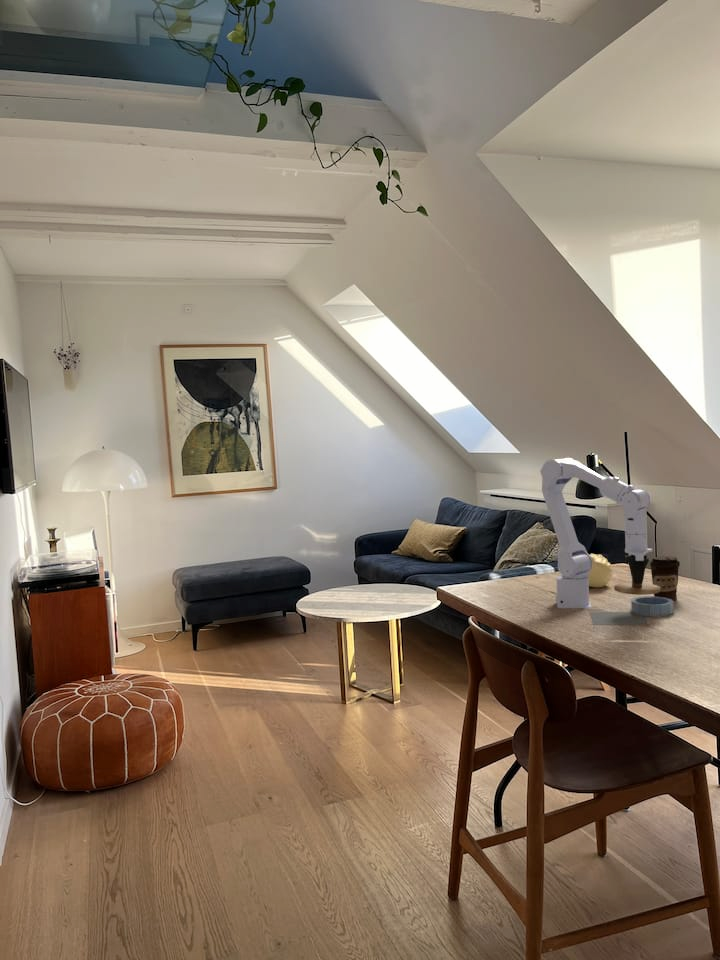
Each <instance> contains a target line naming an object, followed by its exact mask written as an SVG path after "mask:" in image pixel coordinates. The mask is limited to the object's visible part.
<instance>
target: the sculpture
mask: <svg viewBox="0 0 720 960" xmlns="http://www.w3.org/2000/svg"><path fill="white" fill-rule="evenodd" d="M589 555H590V557H591V558H592V561H593V566H592V569H591V570H590V571H589V575H588V583H589V588H590V587H591V588H603V587H605V586H606V585H608V584H609V582H610V580H611V578H612V576H613V575H612V573H613V569H612V564H611V563H610V562H609V561H608V559H607V558H605V557H604V556H603V555H602V554H595V553H590V554H589Z"/></svg>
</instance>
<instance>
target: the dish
mask: <svg viewBox="0 0 720 960" xmlns="http://www.w3.org/2000/svg"><path fill="white" fill-rule="evenodd" d="M630 612H632V613H635V614H638V615H643V616H644V617H667V616H671V615H673V614H674V613H675V601H673V600H672V599H668V598H664V597H654V595H653V596H651V595H650V596H645V595H643V596H637V597H633V598H631V599H630Z"/></svg>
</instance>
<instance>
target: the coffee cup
mask: <svg viewBox="0 0 720 960" xmlns="http://www.w3.org/2000/svg"><path fill="white" fill-rule="evenodd" d="M651 559H652V560H651V561H649V562H650V563H649V566H650V569H651V573H650V574H651V580H652V584H653V585H657V586H659V587H660V592H659V593H655V594H653V596H654V597H664V598H668V599H672V600H673V602H677V601H678V598H677V589H678V583H679V569H680V564H681V562H680V561H679V560H678V557H676V556H656V557H652V558H651Z"/></svg>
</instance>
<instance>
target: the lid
mask: <svg viewBox="0 0 720 960" xmlns="http://www.w3.org/2000/svg"><path fill="white" fill-rule="evenodd" d="M613 587H614V591H615V592H618V593H621V594H627V595H638V596H640V595H641V596H642V595H643V596H645V595H654V594H655V593H659V592H660V587H659V586H657V585H653V583H648V582H647V583H646V582H643V583H642V584H634V581H633V577H632V576H631V582H623V583H622V582H621V583H617V584H615V585H614V586H613Z"/></svg>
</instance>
